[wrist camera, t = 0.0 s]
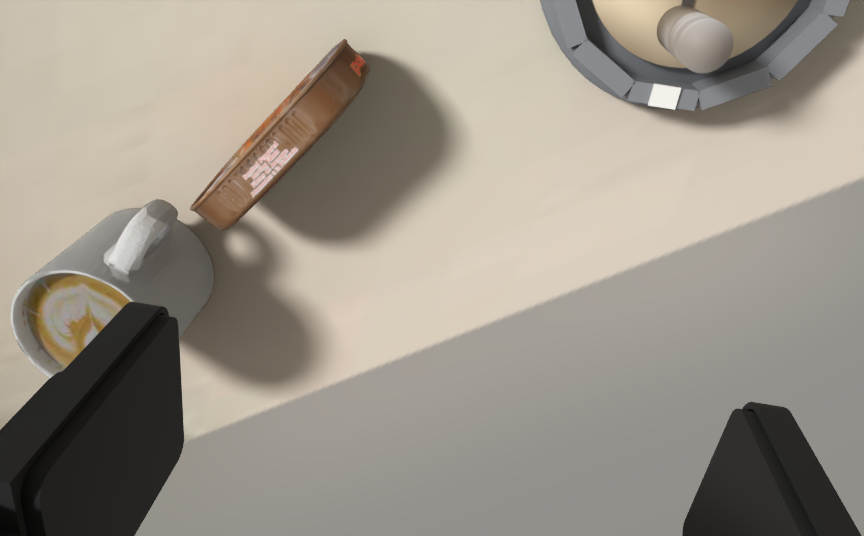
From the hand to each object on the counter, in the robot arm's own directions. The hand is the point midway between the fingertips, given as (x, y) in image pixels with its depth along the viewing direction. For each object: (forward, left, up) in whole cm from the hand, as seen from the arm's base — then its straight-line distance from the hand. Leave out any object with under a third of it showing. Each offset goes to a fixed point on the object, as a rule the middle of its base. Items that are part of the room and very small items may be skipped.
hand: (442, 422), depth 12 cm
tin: (+7, -12, -37) cm, 40 cm away
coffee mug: (+19, -22, -37) cm, 47 cm away
